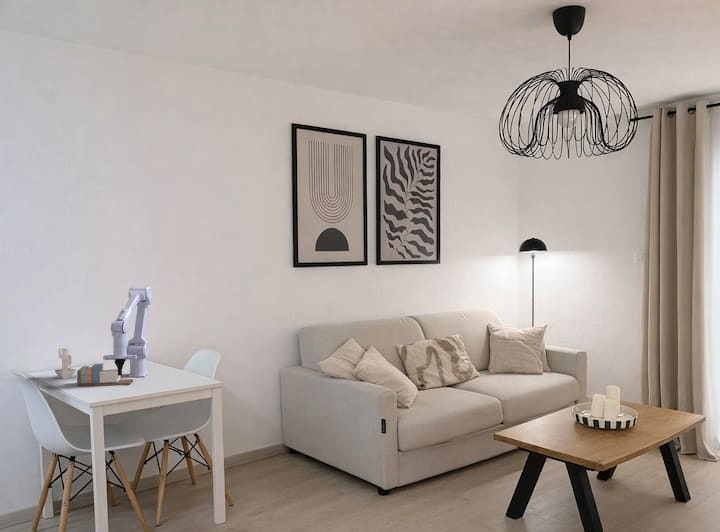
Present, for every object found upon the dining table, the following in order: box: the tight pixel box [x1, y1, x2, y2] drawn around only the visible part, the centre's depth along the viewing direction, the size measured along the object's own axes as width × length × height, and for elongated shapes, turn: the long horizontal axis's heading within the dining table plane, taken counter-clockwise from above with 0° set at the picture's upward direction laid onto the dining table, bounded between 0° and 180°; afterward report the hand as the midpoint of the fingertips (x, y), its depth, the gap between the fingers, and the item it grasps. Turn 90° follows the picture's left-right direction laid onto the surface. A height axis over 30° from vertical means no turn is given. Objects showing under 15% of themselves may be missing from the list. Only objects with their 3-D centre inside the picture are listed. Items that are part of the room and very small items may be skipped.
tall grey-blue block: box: [91, 362, 104, 383], centre depth 289 cm, size 6×4×8 cm, turn 9°
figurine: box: [54, 346, 77, 379], centre depth 302 cm, size 7×9×15 cm
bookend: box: [100, 368, 121, 383], centre depth 289 cm, size 7×8×5 cm
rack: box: [76, 365, 134, 387], centre depth 289 cm, size 8×23×8 cm, turn 99°
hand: (120, 375), depth 290 cm, fingers closed
